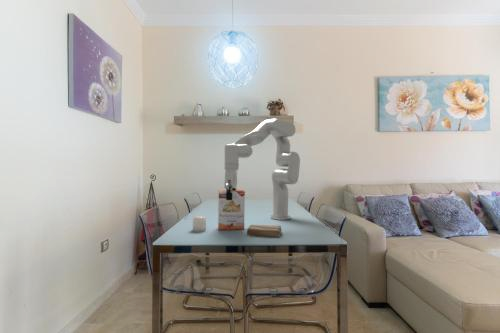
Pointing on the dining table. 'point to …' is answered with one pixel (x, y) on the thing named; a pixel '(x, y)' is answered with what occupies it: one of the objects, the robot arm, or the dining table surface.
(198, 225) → the white small block
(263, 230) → the plinth
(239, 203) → the cracker box
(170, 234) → the dining table surface
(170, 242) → the dining table surface
